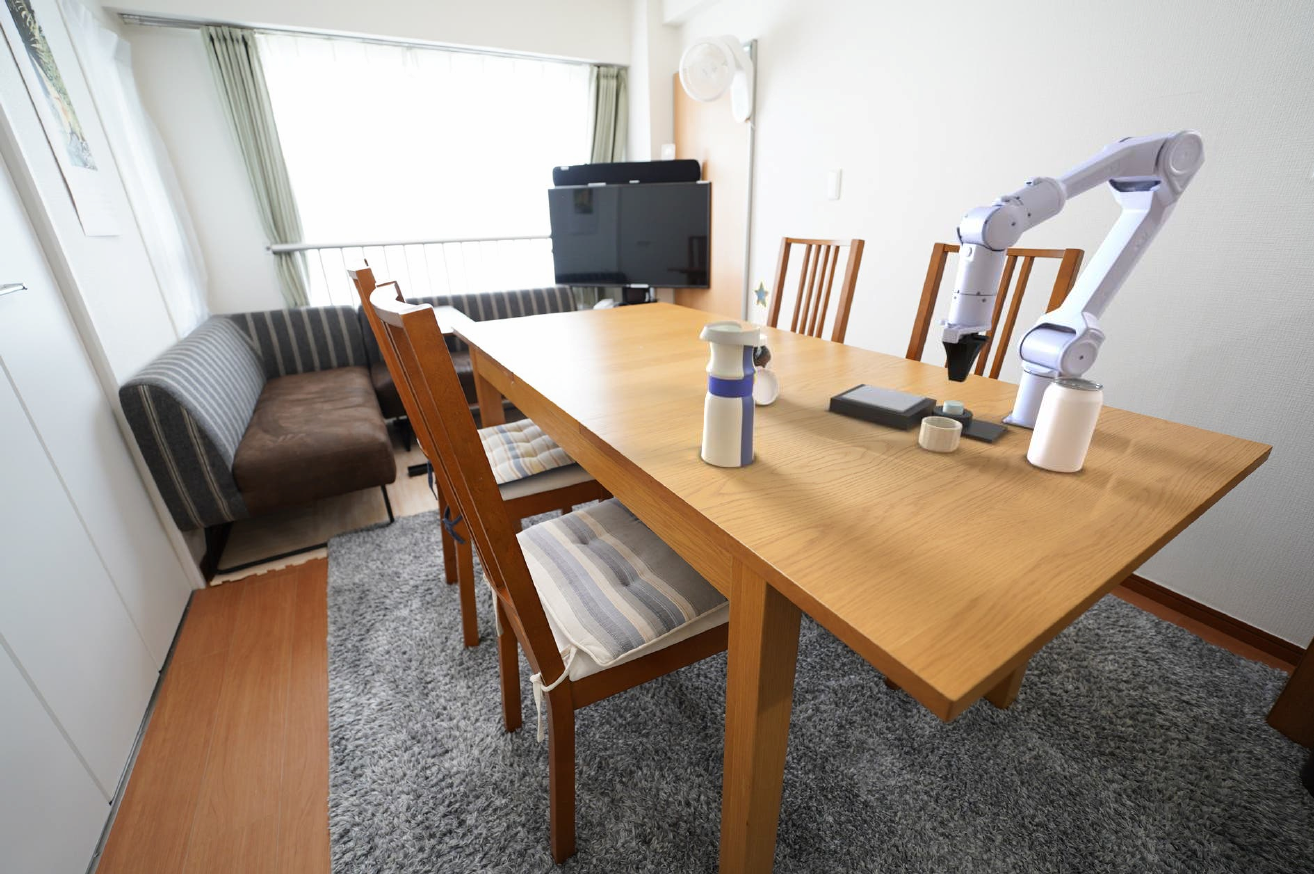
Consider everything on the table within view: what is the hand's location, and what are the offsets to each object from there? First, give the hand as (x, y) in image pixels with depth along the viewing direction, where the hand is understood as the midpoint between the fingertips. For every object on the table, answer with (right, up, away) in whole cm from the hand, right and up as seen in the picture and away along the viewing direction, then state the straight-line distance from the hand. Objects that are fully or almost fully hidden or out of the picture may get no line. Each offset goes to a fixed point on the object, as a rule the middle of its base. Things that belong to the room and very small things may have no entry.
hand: (956, 380), depth 86 cm
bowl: (-5, -11, -3) cm, 12 cm away
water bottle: (-37, -12, -5) cm, 40 cm away
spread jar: (-29, -1, +20) cm, 36 cm away
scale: (-7, -5, +11) cm, 14 cm away
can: (+9, -13, -9) cm, 18 cm away
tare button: (+2, -5, +4) cm, 7 cm away
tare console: (+3, -8, +4) cm, 9 cm away
